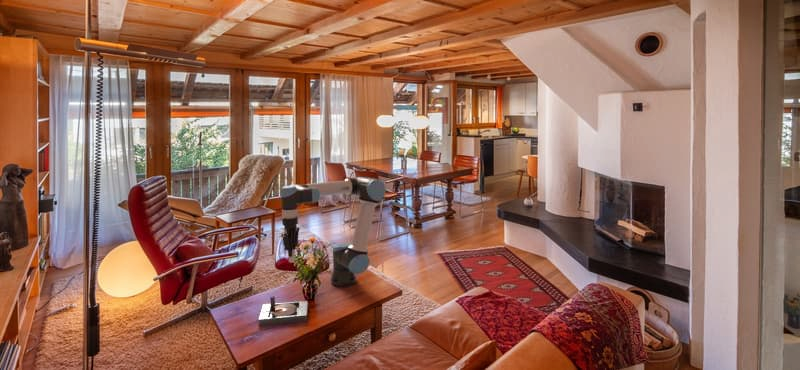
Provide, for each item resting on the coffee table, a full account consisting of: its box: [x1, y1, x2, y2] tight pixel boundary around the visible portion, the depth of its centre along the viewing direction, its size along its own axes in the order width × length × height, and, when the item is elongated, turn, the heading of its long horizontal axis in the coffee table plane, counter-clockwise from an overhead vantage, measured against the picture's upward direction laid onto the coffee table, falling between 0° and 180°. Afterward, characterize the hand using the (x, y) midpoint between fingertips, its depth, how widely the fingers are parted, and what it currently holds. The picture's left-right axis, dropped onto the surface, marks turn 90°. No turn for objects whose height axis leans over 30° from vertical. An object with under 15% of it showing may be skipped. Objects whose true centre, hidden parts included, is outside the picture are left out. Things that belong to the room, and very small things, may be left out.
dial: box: [269, 295, 297, 317], centre depth 204 cm, size 12×12×9 cm
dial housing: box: [258, 300, 309, 327], centre depth 205 cm, size 22×16×4 cm
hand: (291, 261), depth 211 cm, fingers closed
